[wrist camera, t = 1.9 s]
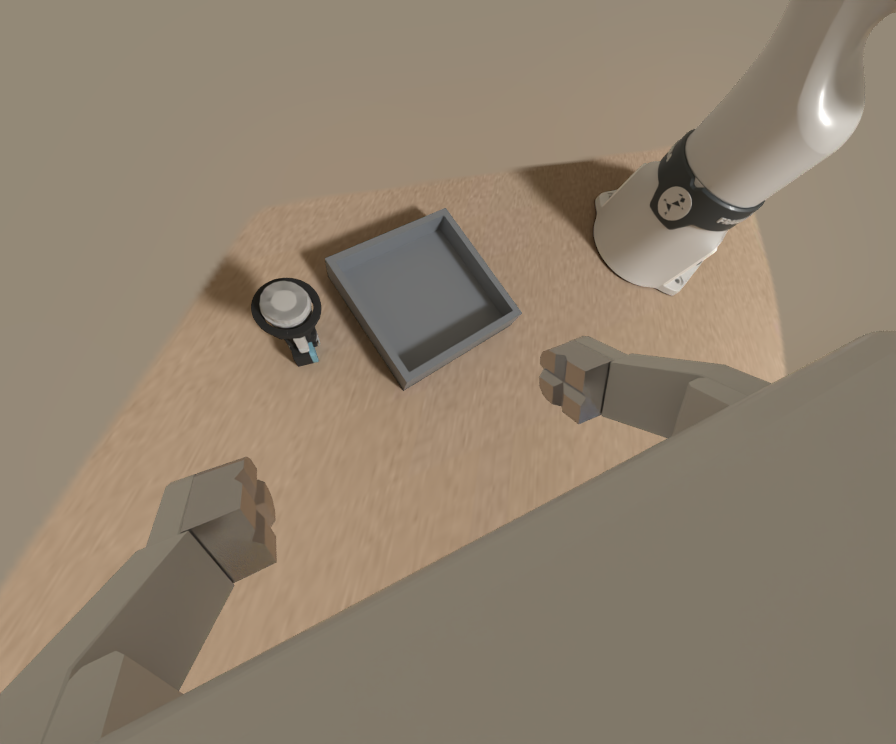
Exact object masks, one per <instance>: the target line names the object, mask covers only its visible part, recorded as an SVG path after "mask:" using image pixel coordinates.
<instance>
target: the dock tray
mask: <svg viewBox="0 0 896 744" xmlns="http://www.w3.org/2000/svg"><path fill="white" fill-rule="evenodd" d="M325 262H326V267H327V272H328V277H329V278H330V280H331V281H332V283H333V284H334V286H335V287H336V289H337V290H338V292H339V293H340V295H341V296H342V298H343V299H344V301H345V302H346V304H347V305H348V307H349V308H350V310H351V312H352V313H353V315H354V316H355V318H356V319H357V321H358V322H359V324H360V325H361V327H362V328H363V330H364V331H365V333H366V334H367V336H368V337H369V339H370V340H371V342H372V343H373V345H374V347H375V348H376V350H377V351H378V353H379V354H380V356H381V357H382V359H383V360H384V362H385V363H386V365H387V366H388V368H389V369H390V371H391V372H392V374H393V375H394V377H395V378H396V380H397V382H398V383H399V385H400V386H401V388H402V389H403V391H404V390H405V389H407V388H409V387H410V386H412V385H414V384H415V383H417V382H419V381H420V380H422V379H423V378H425V377H427V376H428V375H430V374H432V373H433V372H435V371H437V370H438V369H440V368H441V367H443V366H445V365H446V364H448V363H450V362H451V361H453V360H454V359H456V358H458V357H459V356H461V355H463V354H464V353H466V352H468V351H469V350H471V349H472V348H474V347H476V346H477V345H479V344H481V343H482V342H484V341H486V340H487V339H489V338H490V337H492V336H494V335H495V334H497V333H499V332H500V331H502V330H504V329H505V328H507V327H508V326H510V325H511V324H512V323H513V322H514V321H515V320H516V319H517V318H518V317H519V316H520V315H521V314H522V312H521V311H520V310H519V308H518V307H517V305H516V304H515V303H514V301H513V300H512V299H511V297H510V296H509V294H508V293H507V292H506V290H505V289H504V288H503V286H502V285H501V283H500V282H499V281H498V279H497V278H496V277H495V275H494V274H493V272H492V271H491V270H490V268H489V267H488V265H487V264H486V263H485V261H484V260H483V259H482V257H481V256H480V254H479V253H478V252H477V250H476V249H475V248H474V246H473V245H472V243H471V242H470V241H469V239H468V238H467V237H466V235H465V234H464V232H463V231H462V230H461V228H460V227H459V226H458V224H457V223H456V221H455V220H454V219H453V217H452V216H451V215H450V213H449V212H448V210H447V209H446V208H444V209H442V210H439V211H437V212H435V213H432V214H430V215H427V216H425V217H423V218H420V219H418V220H415V221H413V222H411V223H408V224H406V225H404V226H401V227H399V228H396V229H394V230H392V231H389V232H387V233H384V234H382V235H380V236H377V237H375V238H372V239H370V240H368V241H365V242H363V243H360V244H358V245H356V246H353V247H351V248H349V249H346V250H344V251H341V252H339V253H337V254H334V255H332V256H329V257H327V258H325Z"/></svg>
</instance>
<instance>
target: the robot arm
mask: <svg viewBox="0 0 896 744" xmlns="http://www.w3.org/2000/svg"><path fill="white" fill-rule="evenodd" d="M895 12H896V0H789V2H788V5H787V7H786V9H785V11H784V13H783V15H782V18H781V20H780V21H779V23H778V25H777V27H776V29H775V31H774V33H773V34H772V36H771V38H770V39H769V41H768V43H767V44H766V46H765V47H764V49H763V50H762V52H761V53H760V54H759V56H758V58H757V59H756V60H755V62H754V63H753V64H752V65H751V67H750V68H749V69H748V70H747V72H746V73H745V74H744V76H743V77H742V78H741V79H740V80H739V81H738V82H737V84H736V85H735V86H734V87H733V88H732V90H731V91H730V92H729V93H728V94H727V95H726V96H725V98H724V99H723V100H722V101H721V102H720V103H719V104H718V105H717V107H716V108H715V109H714V110H713V111H712V112H711V113H710V114H709V115H708V116H707V118H706V119H705V120H704V121H703V122H702V123H701V124H700V125H699V126H698V127H697V128H696V129H694V130H691V131H689V132H688V133H687V134H686V135H685V136H684V137H683V138H682V139H680V140H679V141H677V142H676V143H675V144H674V145H673V146H672V148H671V149H670V151H669V152H668V153H667V154H666V155H665V156H664V157H663V158H662V160H661V161H659V162H657V161H655V162H650V163H648V164H647V163H644V164H643V165H641V166H640V167H639V168H638V169H637V170H636V171H635V172H634V173H633V174H632V175H631V176H630V177H629V178H628V179H627V180H626V181H625V182H624V183H623V184H622V185H621V186H620V188H619V189H617V190H613V191H608V192H604V193H601V194H600V195H599V196H598V197H597V198H596V199H595V206H596V211H597V217H596V220H595V224H594V239H595V243H596V246H597V249H598V251H599V253H600V255H601V256H602V258H603V260H604V261H605V262H606V264H607V265H608V266H609V267H610V268H611V269H612V270H613V271H614V272H615V273H616V274H618V275H619V276H620V277H622V278H623V279H625V280H627V281H629V282H631V283H633V284H636V285H639V286H644V287H652V288H656V289H658V290H660V291H662V292H664V293H666V294H669V295H675V294H676V293H678V292H679V291H680V290H681V289H682V288H683V286H684V285H685V284H686V282H687V281H688V280H689V279H690V277H691V276H692V275H693V273H694V272H695V271H696V270H697V268H698V267H699V266H700V264H701V263H702V262H703V260H705V259H706V258H708V257H709V256H711V255H712V254H713V253H715V252H716V251H717V246H719V244H720V243H721V242H722V240H723V238H724V237H725V235H726V233H727V231H728V230H729V229H730V228H732V227H733V226H735V225H736V224H738V223H740V222H742V221H744V220H745V219H747V218H748V217H749V216H751V215H752V214H753V213H754V212H755V211H756V210H758V209H759V208H760V207H761V206H762V205H763V204H764V202H765V200H766V199H767V198H768V197H770V196H771V195H773V194H774V193H776V192H777V191H779V190H780V189H782V188H783V187H785V186H786V185H787V184H789V183H790V182H792V181H793V180H795V179H796V178H798V177H799V176H801V175H802V174H803V173H805V172H806V171H808V170H809V169H811V168H812V167H813V166H815V165H816V164H818V163H819V162H821V161H822V160H824V159H825V158H827V157H828V156H830V155H831V154H833V153H834V152H835V151H837V150H838V149H839V148H840V147H841V146H842V145H843V144H844V143H845V142H846V141H847V140H848V138H849V137H850V136H851V135H852V133H853V132H854V130H855V129H856V127H857V125H858V123H859V121H860V119H861V117H862V113H863V109H864V103H865V77H864V66H863V53H864V47H865V44H866V40H867V38H868V36H869V34H870V33H871V31H872V30H873V28H874V27H875V26H876V25H877V24H878V23H879V22H880V21H881V20H883V19H884V18H885V17H887V16H888V15H890V14H892V13H895ZM540 365H541V366H542V367H543V371H542V373H541V375H540V377H539V386H540V389H541V391H542V394H543V395H544V397H545V398H546V399H547V400H548V401H549V402H550V403H551V404H554V405H558V406H561V407H562V412H563V413H564V414H566V415H567V416H568V417H570V418H571V419H572V420H574V421H575V422H576V423H577V424H581V423H583V422H585V421H588V420H590V419H592V418H595V417H597V416H600V415H602V416H603V417H606V418H609V419H612V420H615V421H618V422H621V423H624V424H627V425H630V426H633V427H636V428H639V429H642V430H645V431H648V432H651V433H654V434H657V435H660V436H663V437H666V438H668V439H666V440H664V441H662V442H660V443H658V444H656V445H654V446H652V447H651V448H649V449H647V450H645V451H643V452H641V453H639V454H637V455H635V456H634V457H632V458H630V459H628V460H626V461H624V462H622V463H620V464H618V465H617V466H615V467H613V468H611V469H609V470H607V471H605V472H603V473H601V474H600V475H598V476H596V477H594V478H592V479H590V480H588V481H586V482H585V483H583V484H581V485H579V486H577V487H575V488H573V489H571V490H569V491H568V492H566V493H564V494H562V495H560V496H558V497H556V498H554V499H552V500H550V501H549V502H547V503H545V504H543V505H541V506H539V507H537V508H535V509H533V510H532V511H530V512H528V513H526V514H524V515H522V516H520V517H518V518H516V519H514V520H513V521H511V522H509V523H507V524H505V525H503V526H501V527H499V528H497V529H496V530H494V531H492V532H490V533H488V534H486V535H484V536H482V537H480V538H478V539H477V540H475V541H473V542H471V543H469V544H467V545H465V546H463V547H461V548H460V549H458V550H456V551H454V552H452V553H450V554H448V555H446V556H444V557H442V558H441V559H439V560H437V561H435V562H433V563H431V564H429V565H427V566H425V567H424V568H422V569H420V570H418V571H416V572H414V573H412V574H410V575H408V576H407V577H405V578H403V579H401V580H399V581H397V582H395V583H393V584H391V585H390V586H388V587H386V588H384V589H382V590H380V591H378V592H376V593H374V594H372V595H371V596H369V597H367V598H365V599H363V600H361V601H359V602H357V603H355V604H354V605H352V606H350V607H348V608H346V609H344V610H342V611H340V612H338V613H337V614H335V615H333V616H331V617H329V618H327V619H325V620H323V621H321V622H320V623H318V624H316V625H314V626H312V627H310V628H308V629H306V630H304V631H302V632H301V633H299V634H297V635H295V636H293V637H291V638H289V639H287V640H285V641H284V642H282V643H280V644H278V645H276V646H274V647H272V648H270V649H268V650H267V651H265V652H263V653H261V654H259V655H257V656H255V657H253V658H251V659H250V660H248V661H246V662H244V663H242V664H240V665H238V666H236V667H234V668H233V669H231V670H229V671H227V672H225V673H223V674H221V675H219V676H217V677H215V678H214V679H212V680H210V681H208V682H206V683H204V684H202V685H200V686H198V687H197V688H195V689H193V690H191V691H189V692H187V693H185V694H182V693H181V692H179V690H180V688H181V686H182V684H183V682H184V680H185V678H186V676H187V674H188V673H189V671H190V669H191V667H192V665H193V663H194V661H195V659H196V657H197V655H198V654H199V652H200V650H201V648H202V646H203V644H204V642H205V640H206V638H207V636H208V635H209V633H210V631H211V629H212V627H213V625H214V623H215V621H216V619H217V617H218V616H219V614H220V612H221V610H222V608H223V606H224V604H225V602H226V600H227V598H228V597H229V595H230V593H231V591H232V589H233V587H234V584H233V583H235V582H237V581H239V580H241V579H243V578H245V577H247V576H249V575H251V574H253V573H256V572H258V571H260V570H262V569H264V568H266V567H268V566H270V565H272V564H274V563H276V562H277V558H276V536H275V534H274V532H273V531H272V529H271V527H272V525H273V523H274V522H275V508H274V504H273V500H272V496H271V494H270V492H269V489H268V487H267V486H266V484H265V482H263V481H260V480H257V468H256V467H255V465H254V464H253V462H252V460H251V459H250V458H248V457H244V458H241V459H238V460H235V461H232V462H229V463H226V464H223V465H221V466H218V467H215V468H212V469H209V470H206V471H203V472H200V473H197V474H194V475H191V476H188V477H185V478H183V479H180V480H177V481H174V482H171V483H170V484H169V485H168V486H166V488H165V491H164V494H163V497H162V500H161V503H160V506H159V509H158V512H157V515H156V518H155V521H154V524H153V527H152V530H151V533H150V536H149V539H148V542H147V545H146V548H143V549H141V550H138V551H136V552H135V553H134V554H133V555H132V556H131V557H130V559H129V560H128V561H127V562H126V563H125V564H124V565H123V566H122V567H121V568H120V569H119V570H118V571H117V572H116V573H115V574H114V575H113V576H112V577H111V578H110V579H109V580H108V582H107V583H106V584H105V585H104V586H103V587H102V588H101V589H100V590H99V591H98V592H97V593H96V594H95V595H94V596H93V597H92V598H91V599H90V600H89V601H88V602H87V603H86V605H85V606H84V607H83V608H82V609H81V610H80V611H79V612H78V613H77V614H76V615H75V616H74V617H73V618H72V619H71V620H70V621H69V622H68V623H67V624H66V625H65V626H64V628H63V629H62V630H61V631H60V632H59V633H58V634H57V635H56V636H55V637H54V638H53V639H52V640H51V641H50V642H49V643H48V644H47V645H46V646H45V647H44V648H43V649H42V650H41V652H40V653H39V654H38V655H37V656H36V657H35V658H34V659H33V660H32V661H31V662H30V663H29V664H28V665H27V666H26V667H25V668H24V669H23V670H22V671H21V672H20V673H19V675H18V676H17V677H16V678H15V679H14V680H13V681H12V682H11V683H10V684H9V685H8V686H7V687H6V688H5V689H4V690H3V691H2V692H1V693H0V744H896V331H877V332H872V333H869V334H865V335H863V336H861V337H858V338H856V339H855V340H853V341H851V342H849V343H847V344H845V345H843V346H841V347H840V348H838V349H836V350H834V351H832V352H830V353H828V354H826V355H825V356H823V357H821V358H819V359H817V360H815V361H814V362H812V363H810V364H808V365H806V366H804V367H802V368H800V369H798V370H796V371H795V372H793V373H791V374H789V375H787V376H785V377H783V378H781V379H779V380H777V381H776V382H774V383H769V382H767V381H764V380H761V379H759V378H756V377H754V376H751V375H749V374H746V373H744V372H741V371H739V370H736V369H734V368H731V367H729V366H726V365H722V364H714V363H706V362H698V361H690V360H681V359H673V358H665V357H657V356H648V355H640V354H629V355H627V354H625V353H623V352H621V351H619V350H617V349H614V348H612V347H610V346H608V345H606V344H604V343H602V342H600V341H597V340H595V339H593V338H591V337H589V336H582V337H579V338H576V339H574V340H571V341H569V342H567V343H565V344H562V345H559V346H557V347H554V348H551V349H548V350H546V351H543V352H542V354H541V357H540Z"/></svg>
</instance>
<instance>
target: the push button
mask: <svg viewBox="0 0 896 744" xmlns="http://www.w3.org/2000/svg"><path fill="white" fill-rule="evenodd" d="M311 302H312V303H313V312H312V309H311ZM251 311H252V315H253V318H254V320H255V321H256V323H257V324H258V325H259V327H260V328H261V329H263V330H264V331H265V332H267V333H269V334H271V335H273V336H275V337H277V338H279V339H284V340H285V341H286V343H287V344H288V346H289V348H290V350H291V351H292V355H293V358H294V361H295V362H296V364H297V365H298V367H299V366H303V365H307V364H311V363H315V362H319V360H318V356H317V354H316V350H315V347H316V346H318V345H317V340H318V341H319V338H318V334H317V332H316V329H315V325H316V324H317V322H318V320H319V319H320V315H321V302H320V299H319V296H318V294H317V293H316V291H315V290H314V289H313V288H312V287H311V286H310V285H308V284H307V283H305V282H303V281H301V280H298V279H294V278H279V279H275V280H272V281H269V282H268V283H266V284H264V285H263V286H262V287H260V288H259V289H258V291H257V292H256V293H255V295H254V297H253V300H252V304H251ZM265 319H266V320H267V321H268V322H270V323H272V325H273V326H274V327H272V326H271V325H269V324H268V323H266V321H265ZM319 344H320V341H319Z"/></svg>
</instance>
